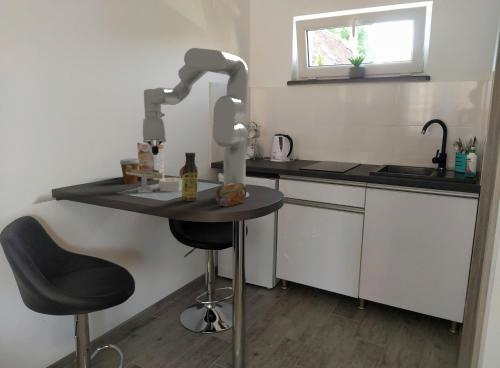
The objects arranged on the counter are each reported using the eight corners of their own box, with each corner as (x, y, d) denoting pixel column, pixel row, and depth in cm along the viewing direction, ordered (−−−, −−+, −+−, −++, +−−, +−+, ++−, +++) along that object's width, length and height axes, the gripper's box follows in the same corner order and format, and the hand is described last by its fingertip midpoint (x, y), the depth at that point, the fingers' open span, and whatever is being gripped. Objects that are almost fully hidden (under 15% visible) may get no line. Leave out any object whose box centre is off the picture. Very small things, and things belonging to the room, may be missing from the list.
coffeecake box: (138, 176, 209) (136, 142, 205) (149, 175, 214) (147, 141, 211) (154, 180, 199) (152, 143, 196) (164, 178, 205) (163, 143, 201)
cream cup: (185, 190, 172) (185, 181, 171) (161, 192, 168) (160, 182, 167) (181, 186, 183) (181, 177, 182) (158, 187, 179) (157, 178, 178)
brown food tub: (117, 182, 190) (115, 159, 188) (132, 180, 198) (131, 157, 196) (128, 184, 185) (127, 161, 183) (144, 182, 193) (143, 159, 190)
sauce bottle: (184, 202, 149) (183, 153, 145) (180, 199, 154) (179, 151, 151) (199, 201, 151) (199, 152, 148) (195, 198, 157) (195, 151, 153)
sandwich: (219, 208, 140) (219, 186, 139) (214, 207, 142) (214, 185, 141) (246, 202, 151) (247, 181, 149) (241, 200, 153) (241, 180, 152)
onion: (195, 180, 200) (195, 161, 198) (200, 183, 192) (199, 164, 190) (178, 181, 197) (177, 162, 195) (181, 184, 188) (181, 164, 186)
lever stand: (152, 192, 168) (151, 173, 166) (138, 192, 166) (137, 174, 164) (150, 188, 176) (149, 171, 175) (137, 189, 174) (136, 171, 173)
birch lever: (162, 178, 170) (163, 171, 170) (126, 174, 164) (127, 166, 164) (158, 174, 182) (159, 167, 182) (125, 170, 176) (126, 163, 176)
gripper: (168, 116, 180) (169, 153, 183) (136, 116, 175) (138, 154, 178) (170, 115, 173) (172, 154, 177) (137, 116, 168) (139, 156, 171)
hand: (155, 154), depth 177 cm, fingers closed
